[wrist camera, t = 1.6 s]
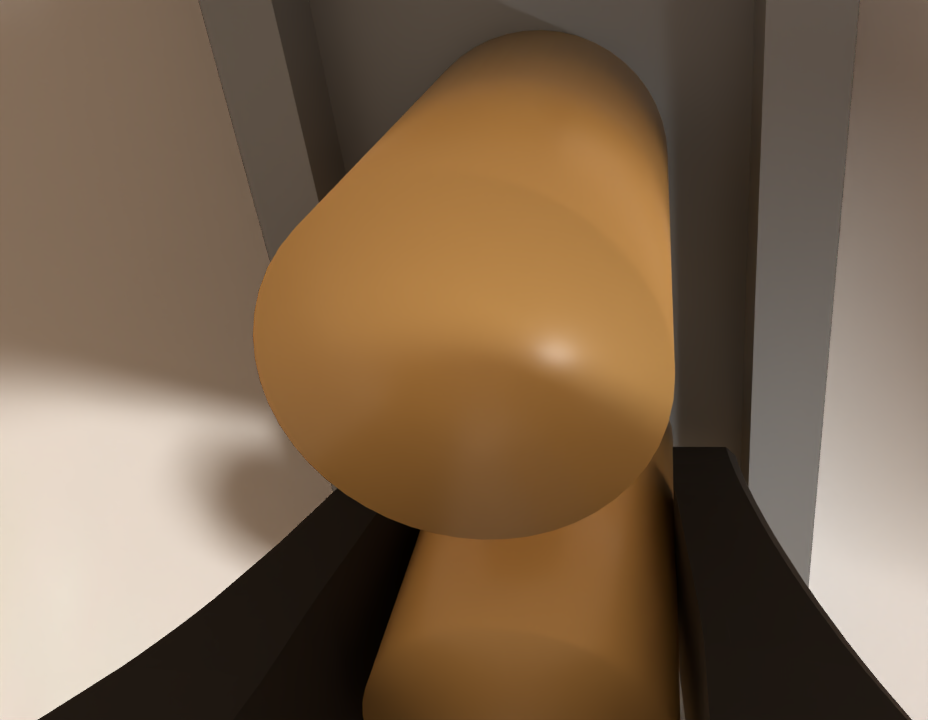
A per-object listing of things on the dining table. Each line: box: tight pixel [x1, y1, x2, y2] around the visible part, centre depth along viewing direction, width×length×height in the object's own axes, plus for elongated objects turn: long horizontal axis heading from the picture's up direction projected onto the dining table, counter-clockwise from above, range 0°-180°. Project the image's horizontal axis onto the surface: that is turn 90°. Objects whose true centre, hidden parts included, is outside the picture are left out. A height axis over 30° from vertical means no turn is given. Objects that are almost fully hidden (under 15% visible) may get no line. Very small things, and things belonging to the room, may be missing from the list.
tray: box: [199, 0, 860, 720], centre depth 10 cm, size 6×18×6 cm, turn 8°
